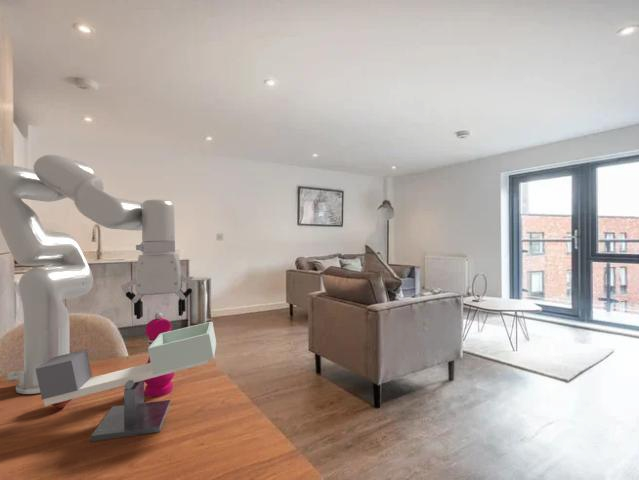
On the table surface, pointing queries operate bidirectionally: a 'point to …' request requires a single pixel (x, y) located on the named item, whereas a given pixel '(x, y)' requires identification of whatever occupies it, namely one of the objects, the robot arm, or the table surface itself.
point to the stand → (132, 416)
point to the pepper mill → (156, 384)
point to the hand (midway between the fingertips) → (160, 316)
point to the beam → (165, 356)
